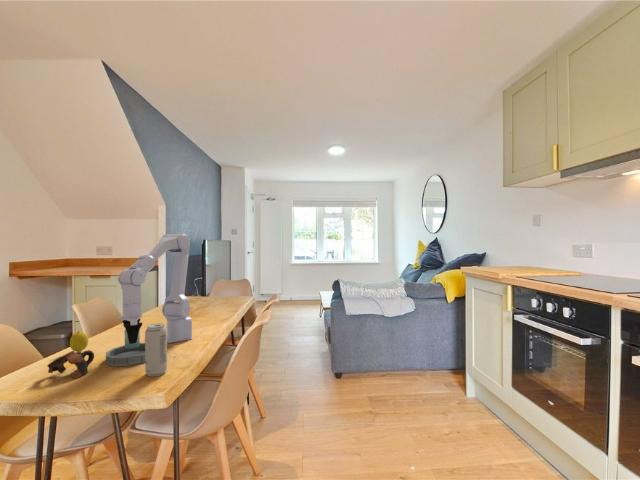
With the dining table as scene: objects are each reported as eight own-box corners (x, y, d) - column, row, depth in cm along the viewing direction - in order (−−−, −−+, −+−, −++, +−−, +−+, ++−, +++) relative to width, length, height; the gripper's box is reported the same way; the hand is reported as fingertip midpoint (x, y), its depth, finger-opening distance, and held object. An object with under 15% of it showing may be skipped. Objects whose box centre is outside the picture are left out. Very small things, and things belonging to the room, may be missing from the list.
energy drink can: (150, 369, 105) (150, 323, 105) (170, 369, 106) (169, 322, 106) (141, 377, 99) (141, 328, 99) (162, 377, 100) (161, 327, 100)
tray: (154, 347, 127) (154, 340, 127) (160, 359, 114) (160, 351, 114) (105, 355, 118) (105, 348, 118) (106, 370, 105) (105, 361, 105)
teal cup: (139, 343, 119) (138, 327, 119) (140, 347, 116) (140, 329, 116) (124, 346, 117) (124, 329, 117) (125, 349, 113) (124, 332, 113)
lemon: (78, 355, 119) (78, 333, 119) (66, 354, 120) (65, 332, 120) (92, 350, 124) (91, 329, 124) (79, 349, 126) (79, 328, 126)
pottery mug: (66, 385, 96) (50, 361, 95) (53, 393, 100) (38, 370, 100) (105, 361, 106) (91, 339, 106) (92, 369, 111) (79, 348, 110)
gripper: (117, 301, 120) (118, 338, 120) (119, 307, 108) (120, 349, 108) (139, 299, 124) (140, 335, 124) (144, 305, 112) (144, 345, 112)
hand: (132, 341), depth 116 cm, fingers closed on teal cup, 5 cm apart
